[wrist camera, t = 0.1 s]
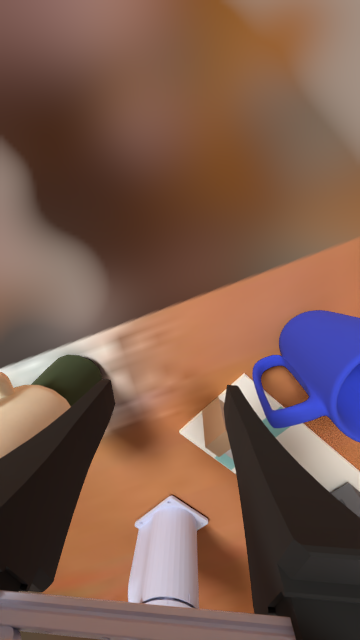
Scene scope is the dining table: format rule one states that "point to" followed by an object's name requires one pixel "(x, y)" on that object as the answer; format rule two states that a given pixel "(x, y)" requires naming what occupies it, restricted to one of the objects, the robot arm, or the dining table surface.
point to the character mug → (42, 399)
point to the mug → (318, 370)
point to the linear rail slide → (295, 439)
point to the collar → (349, 497)
